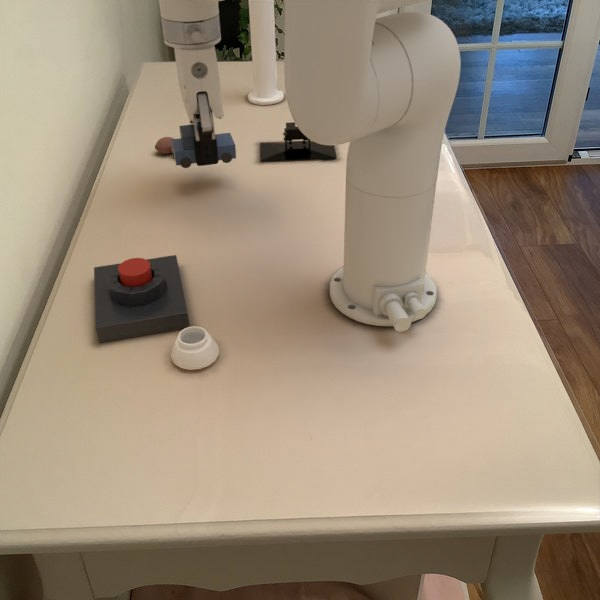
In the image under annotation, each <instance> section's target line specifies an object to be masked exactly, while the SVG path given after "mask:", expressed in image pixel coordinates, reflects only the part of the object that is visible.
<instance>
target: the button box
mask: <svg viewBox="0 0 600 600" xmlns="http://www.w3.org/2000/svg"><path fill="white" fill-rule="evenodd" d="M145 259H146V260H147V261H149V263H150V266H151V272H152V280H151V281H150V282H149V283H147V284H145V285H143V286H138V287H127V286H123V285H122V284H121V281H120V276H119V272H118V267H119V265H120V264H121V263H122V262H120V263H113V264H107V265H101V266H95V267H93V283H94V284H93V285H94V286H93V287H94V325H95V327H94V328H95V332H96V335H97V339H98V343H100V344H101V343H107V342H113V341H118V340H119V341H120V340H124V339H130V338H136V337H142V336H147V335H153V334H154V335H155V334H158V333H159V334H160V333H164V332H165V333H166V332H171V331H178V330H183V329H185V328H187V327H191V326H190V325H191V324H190V319H189V312H188V306H187V303H186V297H185V291H184V287H183V283H182V278H181V272H180V267H179V262H178V258H177V255H176V254H173V255H167V256H160V257H153V258H148V259H147V258H145Z"/></svg>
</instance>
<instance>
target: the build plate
mask: <svg viewBox="0 0 600 600" xmlns="http://www.w3.org/2000/svg"><path fill="white" fill-rule="evenodd" d="M283 131H284V132H283V133H282V135H283V141H266V142H265V141H263V142H259V144H260V145H259V146H260V147H259V149H260V150H259V153H260V154H259V155H260V161H259V162H260V163H280V162H281V163H283V162H284V163H286V162H309V161H310V162H311V161H312V162H313V161H321V162H328V161H335V160H337V158H338V157H337V152H336V147H335V145H322V144H318V143H316V142H313V141H311V140H310V139H308V138H307V137H306V136H305V135H304V134H303V133H302V132H301V131H300V130H299V128H298V127H297V125H296V123H295V122H293V121H292V122H285V127H284V129H283Z"/></svg>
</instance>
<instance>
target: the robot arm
mask: <svg viewBox="0 0 600 600" xmlns="http://www.w3.org/2000/svg"><path fill="white" fill-rule="evenodd" d="M222 1H224V0H158V4H159V11H160V20H161V27H162V34H163V42H164V44H165V45H166V46H167V47H171V48H173V51H174V58H175V65H176V72H177V80H178V84H179V85H178V86H179V91H180V95H181V98H182V102H183V105H184V109H185V111H186V115H187V119H188V120H189V125H192V124H194V132H195V139H194V148H195V157H196V163H195V164H196V166H197V167H202V166H210V165H211V166H212V165H217V164H219V161H220V160H218V150H217V139H216V137H215V134H216V130H215V123H214V118H215V119H219V120H222V119H223V118H224V115H225V114H224V105H223V98H222V90H221V89H222V88H221V81H220V72H219V64H218V57H217V52H216V47H215V45H217V44H219V43H220V42H221V41H222V33H221V23H220V22H221V21H220V9H219V2H222ZM425 1H426V0H284V52H283V53H284V54H283V55H284V56H283V57H284V58H283V59H284V60H283V61H284V63H283V65H284V67H283V68H284V74H283V75H284V90H285V96H286V102H287V105H288V106H287V107H288V109H289V113H290V115H291V118H292V120H293V121H294V122H295V126H296V127H298V128H299V130H300V131H301V132H302V133H303V134H304V135H305V136H306V137H307V138H308V139H310V140H311V141H313V142H316V143H318V144H322V145H334V146H339V145H343V144H347V143H349V145H348V148H347V155H346V165H345V172H346V173H345V191H344V193H345V196H344V198H345V199H344V233H343V235H344V237H343V266H341V267H340V268H339V269H337V271H336V272H334V274H333V275H332V277H331V279H330V283H329V297H330V300H331V302H332V304H333V305H334V307H335V308H336V309H337V310H338V311H339V312H340V313H342V315H344V316H346V317H348V318H349V319H352V320H354V321H356V322H359V323H362V324H365V325H371V326H376V327H393V328H394V330H395V331H396V332H398V333H402V332H406V331H408V330H409V329H410V327H411V326H412V323H414V322H416V321H418V320H421V319H422V320H423V319H424V318H425V317H426V315H428V314H429V313H430V312H431V311H432V309H433V308H434V306H435V304H436V300H437V295H438V294H437V293H438V288H437V284H436V282H435V281H434V278H433V277H432V276H431V275H430V274H429V272H427V266H428V265H427V264H428V257H429V248H430V242H431V241H430V239H431V231H432V225H433V216H434V208H435V207H434V205H435V197H436V190H437V181H438V174H439V167H440V166H439V165H440V160H441V152H442V146H443V141H444V135H445V131H446V127H447V123H448V120H449V117H450V113H451V110H452V107H453V105H454V102H455V99H456V95H457V91H458V87H459V84H460V83H459V82H460V77H461V64H462V63H461V62H462V61H461V53H460V47H459V44H458V41H457V38H456V36H455V34H454V33H453V31H452V30H451V28H450V27H449V26H448V25H447V24H446V23H445V22H444V21H443V20H442V19H440V18H438V17H437V16H434V15H432V14H431V13H430V14H429V13H426V12H422V11H402V12H395V13H392V14H388V15H384V16H381V17H377V15H380V14H382V13H386V12H388V11H394V10H396V9H400V8H401V9H402V8H405V7H408V6H411V5H412V6H413V5H415V4H419V3H422V2H425ZM198 124H201V127H199V129H198Z"/></svg>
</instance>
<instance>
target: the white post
mask: <svg viewBox="0 0 600 600" xmlns="http://www.w3.org/2000/svg"><path fill="white" fill-rule="evenodd" d="M248 13H249V15H248V16H249V29H250V30H249V31H250V47H251V48H250V49H251V64H252V79H253V90H252V91H250V92H249V93H247V101H249V103H252V104H254V105H260V106H271V105H275V104H279V103H280V102H282V101H284V99H285V93H284V92H283V91H282V90H280V89H278V73H277V70H278V69H277V48H276V47H277V46H276V45H277V44H276V27H275V26H276V24H275V23H276V22H275V0H248Z"/></svg>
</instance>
